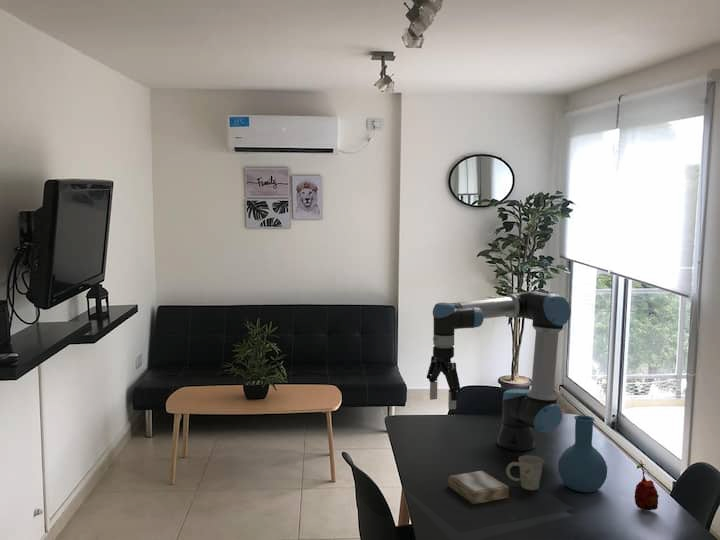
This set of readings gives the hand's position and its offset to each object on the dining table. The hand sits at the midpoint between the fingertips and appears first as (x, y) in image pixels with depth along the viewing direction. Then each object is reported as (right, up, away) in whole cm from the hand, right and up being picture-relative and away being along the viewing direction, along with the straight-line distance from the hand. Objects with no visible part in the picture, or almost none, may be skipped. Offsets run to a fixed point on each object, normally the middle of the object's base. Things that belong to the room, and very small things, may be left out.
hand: (442, 404), depth 236 cm
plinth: (+11, -28, -11) cm, 32 cm away
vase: (+49, -29, -5) cm, 57 cm away
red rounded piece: (+65, -30, -21) cm, 74 cm away
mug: (+28, -28, -5) cm, 40 cm away
